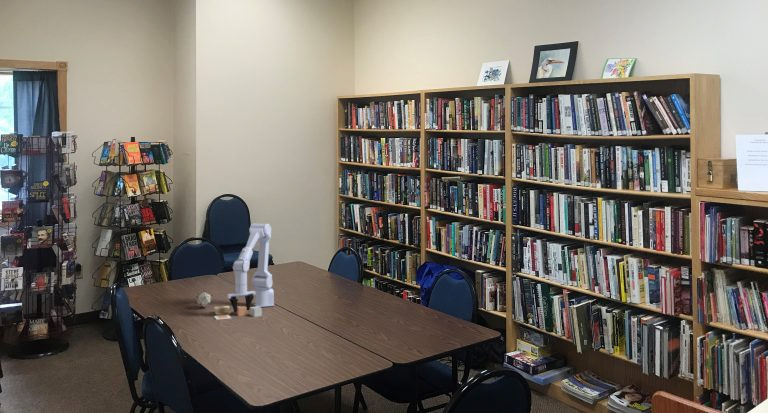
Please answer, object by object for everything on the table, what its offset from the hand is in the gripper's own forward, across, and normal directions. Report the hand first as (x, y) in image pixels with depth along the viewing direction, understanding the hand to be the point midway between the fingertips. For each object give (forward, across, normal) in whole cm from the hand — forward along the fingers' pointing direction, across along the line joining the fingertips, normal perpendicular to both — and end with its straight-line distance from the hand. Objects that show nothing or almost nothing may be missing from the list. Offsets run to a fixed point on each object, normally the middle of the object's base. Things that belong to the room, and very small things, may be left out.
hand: (241, 310), depth 309 cm
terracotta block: (+2, 0, 0) cm, 2 cm away
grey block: (+2, -4, +6) cm, 8 cm away
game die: (+2, +9, -25) cm, 27 cm away
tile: (+2, +10, 0) cm, 11 cm away
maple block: (+2, +6, -10) cm, 12 cm away
